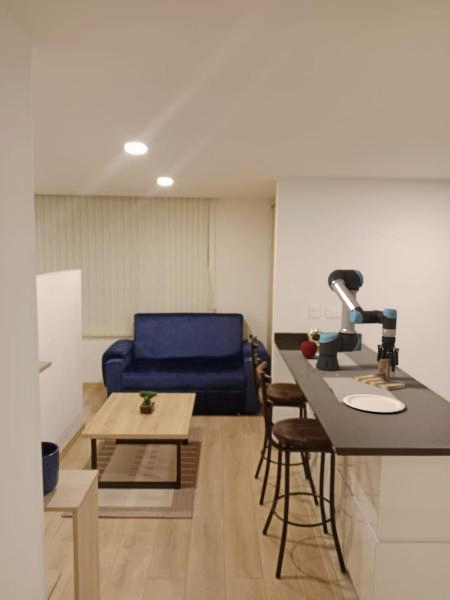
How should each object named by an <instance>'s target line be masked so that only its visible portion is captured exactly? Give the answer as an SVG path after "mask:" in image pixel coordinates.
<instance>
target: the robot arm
mask: <svg viewBox="0 0 450 600" xmlns="http://www.w3.org/2000/svg"><path fill="white" fill-rule="evenodd" d="M327 284H328V287H329V288H330V290H331V291H332V292H334V293H335V295H336V296H337V297H338V300H340V301H341V303H342V305H341V322H340V324H341V327H340V329H339V330H338V332H336V331H327V332H326V331H325V332H323V333H321V334H320V335H319V339H318V340H319V342H318V343H319V344H318V345H319V349H318V358H317V360H316V363H315V368H316V369H317V370H321V371H327V372H329V371H330V372H332V371H339V370H340V364H339V363H340V362H339V359H338V353H351V352H355V351H357V350H358V349H359V348H360V345H361V338H360V335H358V331H356V329H355V328H356V327H355V326H356V325H362V324H363V325H365V324H366V325H368V324H370V325H371V324H372V325H373V324H379V325H382V329H381V335H382V336H381V344H377V354H376V355H377V357H376V362H377V363H378V362H379V363H380V359H385V357H386V354H387V353H388V354H389V357H390V362H391V365H390V373H389V377H394V378H395V375H394V372H395V373H396V367H397V366H399V351H400V348H399V347H396V345H395V344H396V339H397V338H396V336H397V322H398V321H397V319H398V310H397V309H395V308H384V309H383V310H379V309H372V310H364V309H363V308H362V306H361V305H360V304H359V302H358V301H357V293H358V292H359V291H360V289H361V287H363V285H364V276H363V274H362V272H361V271H360V270H358V269H340V268H339V269H335V270H332V271H331V272H330V273H329V275H328V277H327Z"/></svg>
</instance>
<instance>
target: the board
mask: <svg viewBox="0 0 450 600" xmlns="http://www.w3.org/2000/svg"><path fill="white" fill-rule="evenodd" d="M352 380H353V381H356V382H359V383H363V384H366V385H369V386H371V385H372V387H375V388H378V387H379V388H378V389H381V388H382V390H384V389H385V391H388V390H389V391H394V390H400V389H405V388H406V383H403V382H399V381H395V380H393V379H392V380H384V379H381V378H379V377H375V374H372V373H371V374H370V373H367V374H366V373H365V374H361V375H353V376H352Z"/></svg>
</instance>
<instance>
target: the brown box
mask: <svg viewBox="0 0 450 600" xmlns="http://www.w3.org/2000/svg"><path fill="white" fill-rule="evenodd" d="M390 365H391V362H390V359H388V358H385V359H380V365H379V371H378V373H374V375H375V377H379V378H381V379H384V380H392V381H393V380H395V375H396V374H395V373H396V371H395V372H394V377H389V373H390Z"/></svg>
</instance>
